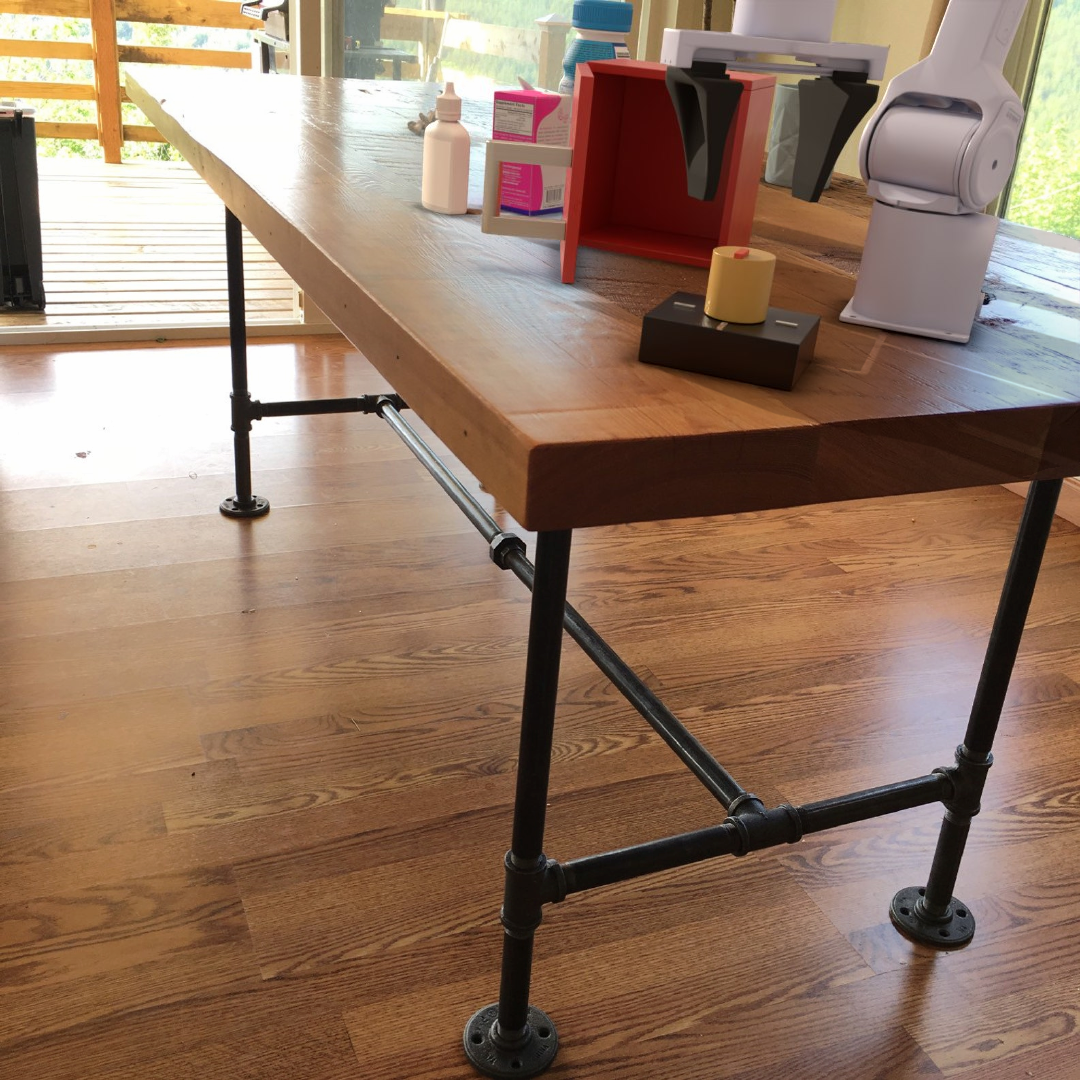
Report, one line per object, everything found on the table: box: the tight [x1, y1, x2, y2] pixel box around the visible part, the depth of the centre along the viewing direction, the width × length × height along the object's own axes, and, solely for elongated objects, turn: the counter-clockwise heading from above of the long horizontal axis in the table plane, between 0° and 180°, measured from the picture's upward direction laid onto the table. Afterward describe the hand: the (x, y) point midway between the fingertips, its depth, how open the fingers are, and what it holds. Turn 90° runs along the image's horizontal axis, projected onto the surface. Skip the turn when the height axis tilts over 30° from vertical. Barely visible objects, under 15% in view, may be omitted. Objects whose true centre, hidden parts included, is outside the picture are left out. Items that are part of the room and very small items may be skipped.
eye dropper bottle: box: [421, 81, 471, 216], centre depth 110 cm, size 4×6×12 cm
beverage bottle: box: [558, 0, 634, 171], centre depth 130 cm, size 8×8×20 cm
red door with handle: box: [480, 63, 594, 285], centre depth 92 cm, size 8×15×15 cm, turn 0°
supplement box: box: [491, 89, 571, 217], centre depth 114 cm, size 6×6×12 cm
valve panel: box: [637, 290, 822, 392], centre depth 74 cm, size 10×8×3 cm
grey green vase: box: [764, 83, 837, 190], centre depth 147 cm, size 10×10×12 cm
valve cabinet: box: [578, 58, 778, 269], centre depth 101 cm, size 10×15×16 cm
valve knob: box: [704, 246, 777, 323], centre depth 72 cm, size 4×4×4 cm
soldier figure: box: [406, 89, 444, 136], centre depth 166 cm, size 8×5×12 cm
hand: (753, 199), depth 70 cm, fingers open, 7 cm apart
